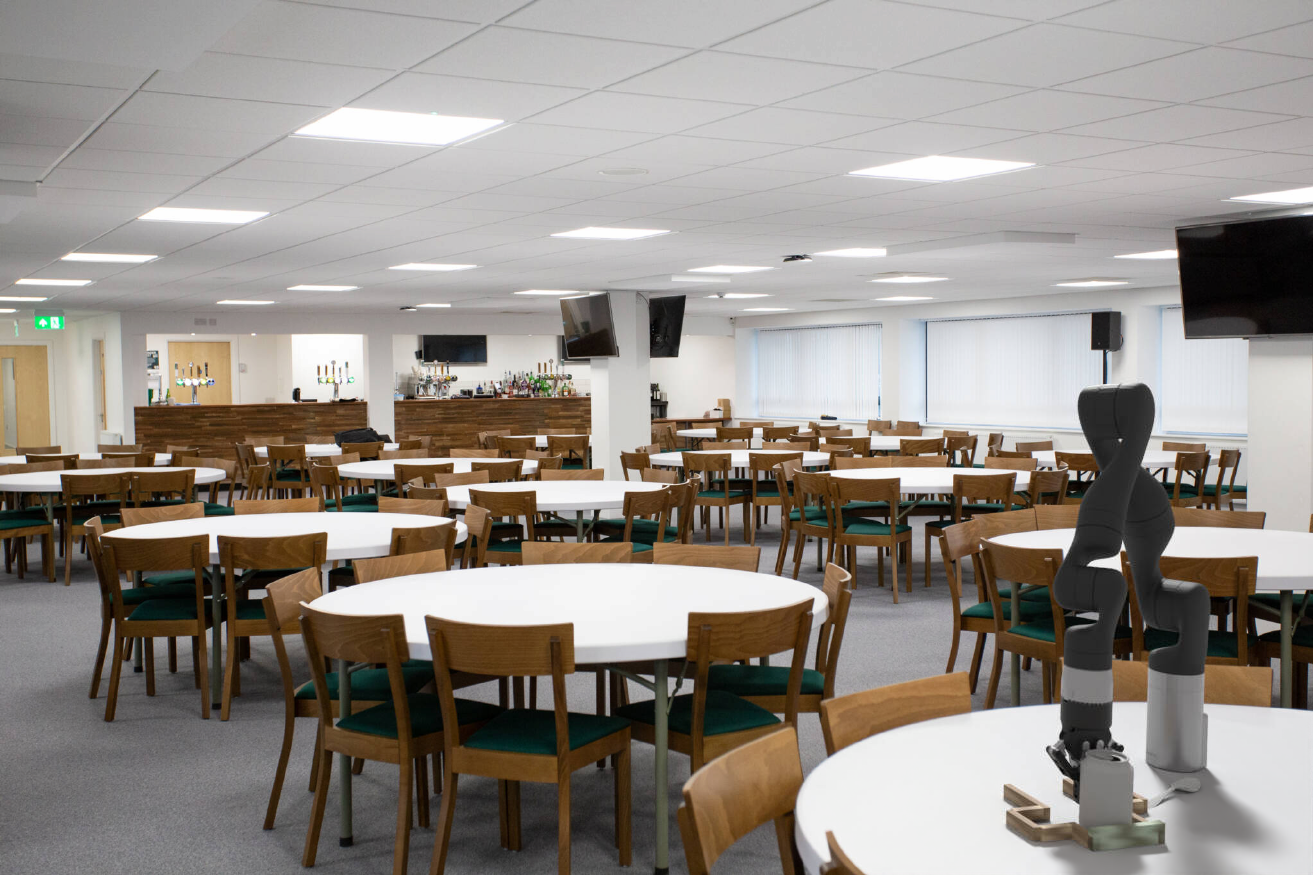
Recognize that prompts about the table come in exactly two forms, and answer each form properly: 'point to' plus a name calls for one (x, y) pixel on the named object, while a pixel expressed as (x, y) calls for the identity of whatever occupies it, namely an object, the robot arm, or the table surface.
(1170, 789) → the spoon
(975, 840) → the table surface
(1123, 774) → the can
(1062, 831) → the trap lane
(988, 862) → the table surface
